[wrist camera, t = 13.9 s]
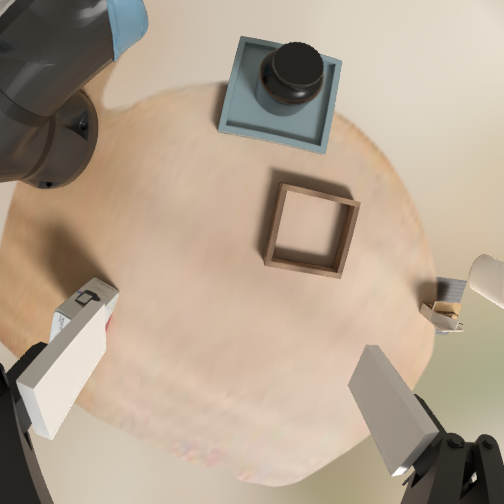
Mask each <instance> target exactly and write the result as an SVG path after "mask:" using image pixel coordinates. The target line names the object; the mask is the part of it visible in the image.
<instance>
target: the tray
mask: <svg viewBox="0 0 504 504" xmlns="http://www.w3.org/2000/svg"><path fill="white" fill-rule="evenodd" d="M283 45H284V44H280V43H275V42H271V41H266V40H261V39H256V38H250V37H243V36H241V37H240V41H239V44H238V48H237V52H236V56H235V60H234V64H233V68H232V72H231V76H230V80H229V84H228V88H227V92H226V96H225V101H224V105H223V109H222V114H221V118H220V123H219V127H218V132H220V133H226V134H231V135H237V136H242V137H247V138H252V139H257V140H262V141H267V142H272V143H276V144H281V145H285V146H289V147H293V148H298V149H302V150H306V151H310V152H314V153H317V154H321V155H322V154H326V149H327V144H328V139H329V133H330V128H331V123H332V118H333V112H334V107H335V101H336V95H337V89H338V83H339V78H340V72H341V65H342V61H341V60H338V59H335V58H331V57H329V56H325V55H322V54H320V56H321V57H322V61H323V62H324V64H323V65H324V69H323V70H324V84H323V87H322V90H321V91H320V93H319V94H318V95H317V96H316V97H315V98H314V99H313V100H312V101H311V102H310V103H309V104H307V105H306V106H305V107H304V108H303V109H302V110H300V111H299V112H298V113H296V114H294V115H291V116H276V115H273V114H270V113H269V112H267V111H266V110H264V109H263V108H262V107H261V106H260V104H259V103H258V101H257V98H256V94H255V87H256V82H257V77H258V72H259V68H260V65H261V63H262V61H263V59H264V58H265V56H266V55H267V54H269V53H270V52H271V51H273V50H275V49H277V48H280V47H281V46H283Z"/></svg>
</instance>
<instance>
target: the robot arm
mask: <svg viewBox="0 0 504 504" xmlns="http://www.w3.org/2000/svg"><path fill="white" fill-rule="evenodd" d="M147 28H148V16H147V11H146V8H145V6H144V3H143V0H0V183H1V182H9V181H16V180H20V181H22V182H24V183H26V184H29V185H31V186H33V187H35V188H39V189H53V188H59V187H63V186H65V185H67V184H69V183H71V182H72V181H74V180H75V179H76V178H77V177H78V176H79V175H80V174H81V173H82V172H83V170H84V169H85V168H86V166H87V165H88V163H89V161H90V159H91V157H92V155H93V152H94V150H95V146H96V142H97V137H98V119H97V114H96V111H95V108H94V106H93V104H92V102H91V101H90V100H89V98H88V97H87V96H86V95H84V94H83V93H81V92H79V90H80V89H81V88H82V87H83V86H84V85H86V84H87V83H88V82H89V81H90V80H91V79H92V78H94V77H95V76H96V75H97V74H98V73H99V72H101V71H102V70H103V69H104V68H105V67H107V66H108V65H109V64H110V63H112V62H115V61H117V60H118V58H119V56H120V55H121V54H122V53H123V52H125V51H126V50H127V49H128V48H130V47H131V46H132V45H133V44H135V43H136V42H137V41H139V40H140V39H141V38H142V37H143V36H144V34H145V33H146V31H147ZM105 351H106V331H105V303H102V302H98V301H94V300H91V301H90V302H89V303H88V304H87V305H86V306H85V307H84V308H83V309H82V310H81V311H80V312H79V313H78V314H77V315H76V316H75V317H74V318H73V319H72V320H71V321H70V322H69V323H68V324H67V325H66V326H65V327H64V328H63V329H62V330H61V331H60V332H59V333H58V334H57V335H56V337H55V338H54V339H53V340H52V341H51V342H50V343H49V344H46V343H43V342H39V343H37V344H35V345H33V346H31V347H30V348H29V349H28V350H27V352H26V353H25V355H23V356H22V357H21V358H20V360H18V361H17V362H16V363H15V364H14V365H13V366H12V368H11V369H10V370H9V371H8V372H7V373H5V370H4V367H3V365H2V364H1V363H0V504H54V503H53V501H52V498H51V496H50V494H49V491H48V489H47V486H46V484H45V481H44V478H43V476H42V473H41V470H40V467H39V464H38V461H37V458H36V455H35V452H34V449H33V445H32V442H31V438H30V435H29V432H28V429H29V427H30V426H31V424H32V426H33V428H34V430H35V432H36V433H37V434H39V435H41V436H43V437H45V438H47V439H49V440H51V441H52V440H53V438H54V436H55V434H56V432H57V431H58V429H59V427H60V425H61V423H62V422H63V420H64V418H65V417H66V415H67V413H68V411H69V410H70V408H71V406H72V404H73V403H74V401H75V399H76V398H77V396H78V394H79V393H80V391H81V389H82V388H83V386H84V385H85V383H86V381H87V380H88V378H89V376H90V375H91V373H92V372H93V370H94V368H95V367H96V365H97V364H98V362H99V360H100V359H101V357H102V356H103V354H104V353H105ZM348 386H349V388H350V390H351V392H352V395H353V397H354V399H355V401H356V403H357V405H358V407H359V409H360V411H361V413H362V415H363V417H364V420H365V422H366V424H367V426H368V428H369V430H370V432H371V434H372V436H373V438H374V441H375V443H376V445H377V447H378V449H379V451H380V454H381V456H382V458H383V460H384V462H385V464H386V467H387V469H388V471H389V473H390V475H391V476H396V475H400V474H404V473H406V472H407V471H408V469H409V468H410V467H411V466H412V465H413V467H414V469H415V471H414V472H413V473H412V474H411V475H410V476H409V477H408V478H407V479H406V480H405V481H404V483H403V484H402V485H405V484H406V483H407V482H408V485H407V488H406V491H405V493H404V496H403V499H402V501H401V504H504V465H503V460H502V457H501V453H500V450H499V446H498V443H497V441H496V440H495V439H494V438H493V437H491V436H490V435H486V434H482V435H480V436H479V437H478V439H477V440H476V441H475V442H474V443H473V442H465V441H464V439H463V438H462V437H461V436H459V435H457V434H455V433H447V432H446V431H445V430H444V428H443V427H442V425H441V424H440V422H439V421H438V420H437V418H436V417H435V415H434V414H433V413H432V411H431V410H430V409H429V407H428V406H427V404H426V403H425V402H424V400H423V399H421V398H420V397H419V396H418V395H416V394H413V393H412V391H411V390H410V389H409V387H408V386H407V384H406V383H405V382H404V380H403V379H402V377H401V376H400V375H399V373H398V372H397V371H396V369H395V368H394V367H393V365H392V364H391V362H390V361H389V360H388V358H387V357H386V356H385V354H384V353H383V352H382V350H381V349H380V348H379V346H378V345H366V346H365V348H364V350H363V353H362V355H361V357H360V360H359V362H358V364H357V367H356V369H355V371H354V373H353V375H352V378H351V380H350V382H349V384H348ZM475 475H477V480H476V481H475V482H472V478H473V477H474V476H475Z"/></svg>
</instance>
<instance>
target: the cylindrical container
mask: <svg viewBox="0 0 504 504" xmlns="http://www.w3.org/2000/svg"><path fill="white" fill-rule="evenodd" d="M469 285H470V287H471V288H472V289H473V290H474V291H476V292H478V293H479V294H481V295H483V296H484V297H486V298H487V299H489V300H490V301H492V302H494V303H495V304H497V305H498V306H500V307H501V308H503V309H504V262H502V261H499V260H497V259H495V258H493V257H490V256H488V255H481V256H479V257H478V258H477V259H476V260H475V261H474V263H473V265H472V267H471V270H470V273H469Z"/></svg>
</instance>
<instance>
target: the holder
mask: <svg viewBox="0 0 504 504" xmlns="http://www.w3.org/2000/svg"><path fill="white" fill-rule="evenodd" d="M287 190H288V191H293V192H297V193H302V194H306V195H310V196H315V197H319V198H323V199H327V200H331V201H335V202H339V203H343V204H347V205H349V206H348V210H347V214H346V219H345V223H344V227H343V231H342V235H341V239H340V242H339V246H338V250H337V254H336V257H335V261H334V265H333V268H329V267H324V266H318V265H313V264H307V263H302V262H296V261H291V260H285V259H280V258H274V257H272V256H273V252H274V247H275V243H276V238H277V234H278V229H279V225H280V220H281V216H282V211H283V206H284V202H285V197H286V193H287ZM360 203H361V202H357V201H354V200H350V199H346V198H342V197H338V196H334V195H330V194H326V193H322V192H318V191H314V190H310V189H306V188H301V187H297V186H292V185H288V184H283V183H280V186H279V190H278V195H277V200H276V204H275V209H274V214H273V218H272V223H271V228H270V232H269V237H268V241H267V246H266V250H265V255H264V260H263V261H264V265H265V266H270V267H275V268H281V269H287V270H292V271H298V272H304V273H310V274H315V275H321V276H327V277H333V278H339V279H341V276H342V272H343V269H344V265H345V262H346V258H347V255H348V251H349V247H350V243H351V240H352V236H353V232H354V228H355V224H356V220H357V216H358V212H359V208H360Z"/></svg>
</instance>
